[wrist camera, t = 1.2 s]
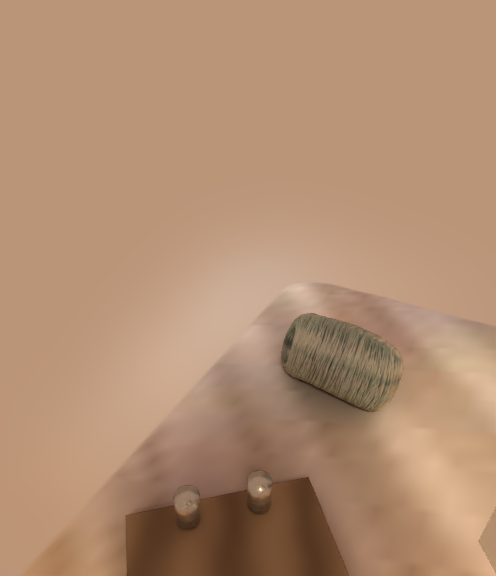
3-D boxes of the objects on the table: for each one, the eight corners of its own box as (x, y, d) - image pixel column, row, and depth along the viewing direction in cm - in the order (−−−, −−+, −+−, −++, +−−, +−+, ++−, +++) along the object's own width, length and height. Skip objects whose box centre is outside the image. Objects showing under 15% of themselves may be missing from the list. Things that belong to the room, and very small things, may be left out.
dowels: (267, 490, 40) (268, 468, 39) (273, 511, 39) (275, 489, 37) (175, 510, 39) (172, 487, 37) (177, 533, 37) (175, 510, 35)
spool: (252, 362, 52) (298, 289, 50) (289, 353, 60) (330, 290, 58) (349, 448, 46) (407, 370, 43) (375, 425, 54) (426, 359, 52)
